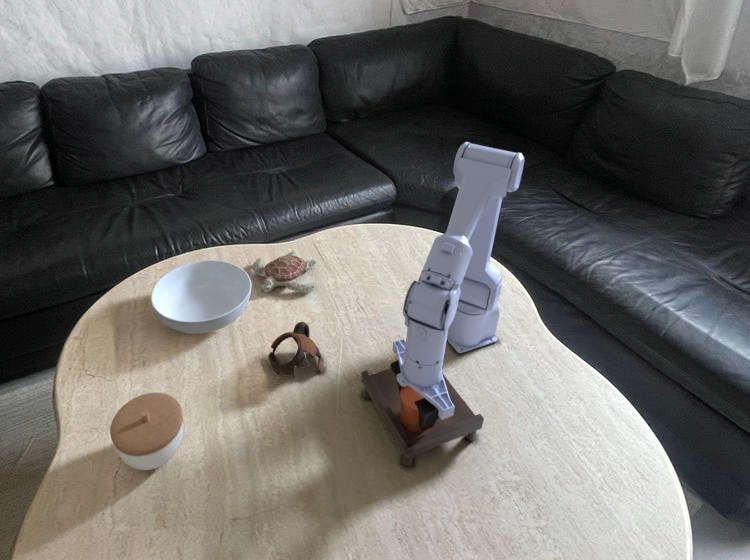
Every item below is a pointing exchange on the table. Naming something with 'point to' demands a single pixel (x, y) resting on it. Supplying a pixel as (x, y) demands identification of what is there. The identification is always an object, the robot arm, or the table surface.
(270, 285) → the decorative turtle
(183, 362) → the table surface
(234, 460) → the table surface
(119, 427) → the trinket box
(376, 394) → the footed tray
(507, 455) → the table surface
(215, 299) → the serving bowl
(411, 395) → the terracotta pot
